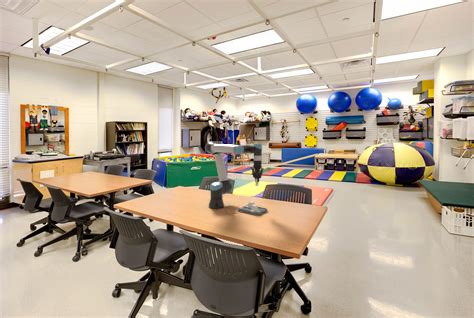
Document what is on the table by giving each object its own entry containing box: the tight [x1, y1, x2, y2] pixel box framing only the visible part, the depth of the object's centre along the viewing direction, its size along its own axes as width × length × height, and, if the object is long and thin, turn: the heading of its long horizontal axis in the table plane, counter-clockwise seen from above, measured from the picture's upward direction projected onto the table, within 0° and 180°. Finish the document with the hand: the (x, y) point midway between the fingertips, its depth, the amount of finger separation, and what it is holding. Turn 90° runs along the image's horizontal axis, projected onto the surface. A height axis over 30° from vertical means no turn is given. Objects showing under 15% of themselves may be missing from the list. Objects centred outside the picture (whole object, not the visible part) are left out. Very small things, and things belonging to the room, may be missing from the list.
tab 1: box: [247, 200, 255, 208], centre depth 230 cm, size 4×4×5 cm
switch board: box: [237, 204, 268, 217], centre depth 226 cm, size 22×16×3 cm
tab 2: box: [251, 203, 259, 211], centre depth 220 cm, size 4×4×5 cm
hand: (256, 185), depth 226 cm, fingers closed
